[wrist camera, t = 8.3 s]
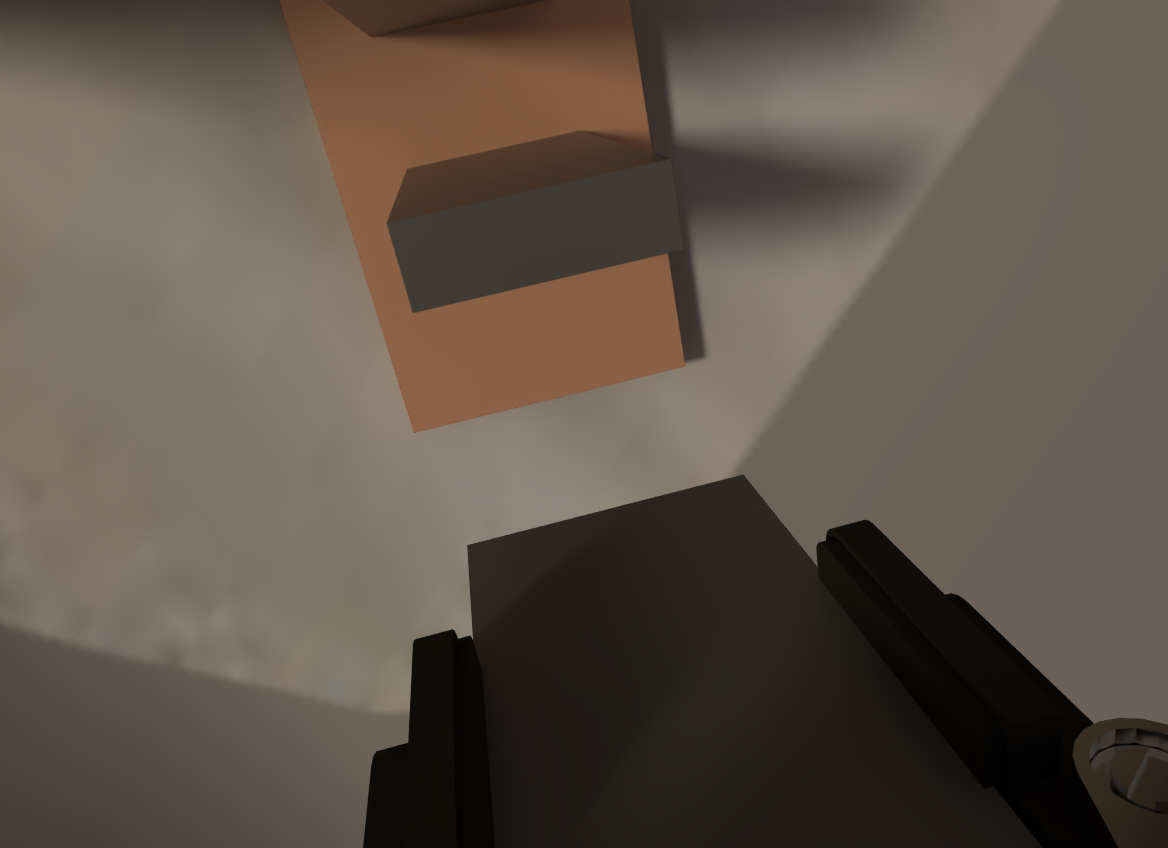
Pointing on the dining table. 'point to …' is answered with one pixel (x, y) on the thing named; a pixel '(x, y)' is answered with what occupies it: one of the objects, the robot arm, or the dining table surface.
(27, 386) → the dining table surface
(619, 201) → the domino
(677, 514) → the domino
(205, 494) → the dining table surface
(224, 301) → the dining table surface
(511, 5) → the domino
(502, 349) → the domino board
